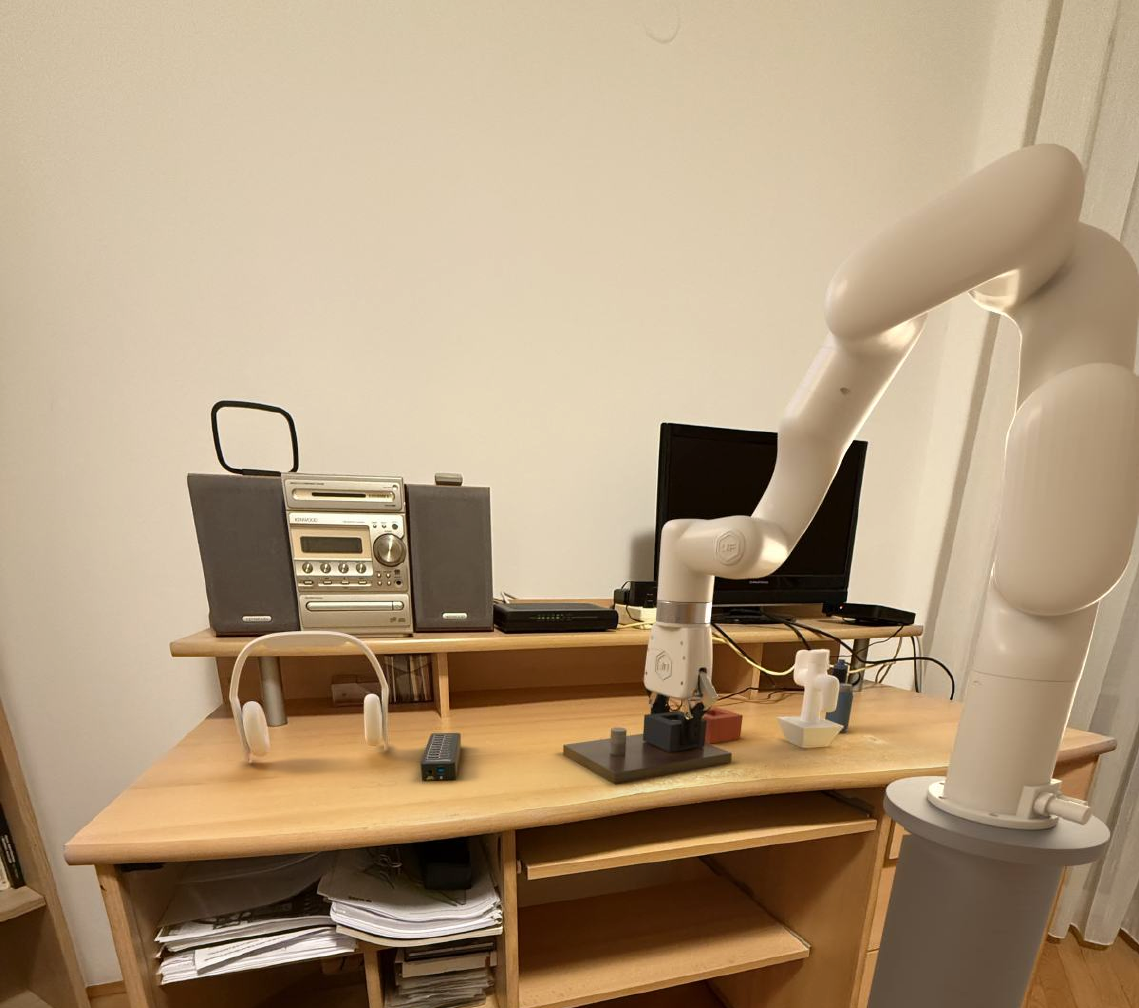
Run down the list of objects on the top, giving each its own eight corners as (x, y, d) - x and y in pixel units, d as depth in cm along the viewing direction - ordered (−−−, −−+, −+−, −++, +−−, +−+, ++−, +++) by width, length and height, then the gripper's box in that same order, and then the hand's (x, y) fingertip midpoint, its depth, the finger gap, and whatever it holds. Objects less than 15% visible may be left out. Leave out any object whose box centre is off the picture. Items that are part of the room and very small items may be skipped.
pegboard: (731, 762, 86) (734, 729, 85) (614, 784, 77) (616, 747, 76) (670, 738, 98) (672, 708, 96) (563, 754, 89) (563, 721, 87)
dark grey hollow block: (704, 746, 88) (707, 720, 87) (669, 752, 85) (671, 724, 84) (676, 735, 94) (678, 710, 92) (642, 740, 91) (644, 714, 89)
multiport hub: (461, 747, 91) (460, 732, 91) (456, 779, 78) (455, 763, 77) (431, 747, 91) (430, 733, 90) (421, 780, 77) (420, 763, 76)
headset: (237, 774, 78) (214, 636, 73) (244, 758, 84) (223, 629, 79) (395, 760, 85) (385, 632, 79) (391, 746, 91) (381, 626, 86)
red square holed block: (740, 738, 98) (742, 715, 97) (709, 743, 95) (712, 719, 94) (713, 729, 104) (715, 706, 103) (683, 733, 101) (685, 710, 100)
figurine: (804, 753, 91) (819, 654, 87) (769, 736, 100) (781, 645, 95) (845, 750, 93) (861, 653, 88) (807, 734, 102) (820, 645, 97)
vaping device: (834, 725, 108) (845, 658, 104) (849, 733, 103) (861, 663, 99) (821, 725, 108) (831, 658, 104) (835, 733, 103) (846, 663, 99)
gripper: (626, 610, 89) (620, 726, 95) (704, 621, 75) (691, 757, 80) (666, 609, 92) (658, 721, 98) (748, 619, 78) (733, 750, 84)
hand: (673, 737), depth 89 cm, fingers closed on dark grey hollow block, 6 cm apart
